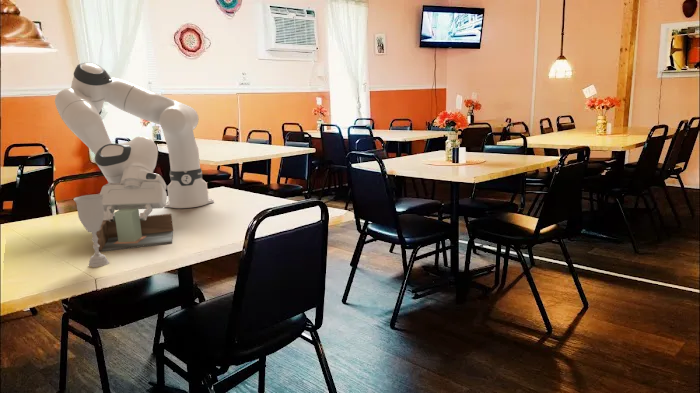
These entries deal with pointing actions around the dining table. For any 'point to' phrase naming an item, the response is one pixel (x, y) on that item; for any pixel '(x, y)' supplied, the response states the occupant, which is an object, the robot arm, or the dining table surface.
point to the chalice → (92, 222)
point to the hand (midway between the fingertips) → (126, 220)
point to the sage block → (128, 225)
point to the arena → (152, 229)
